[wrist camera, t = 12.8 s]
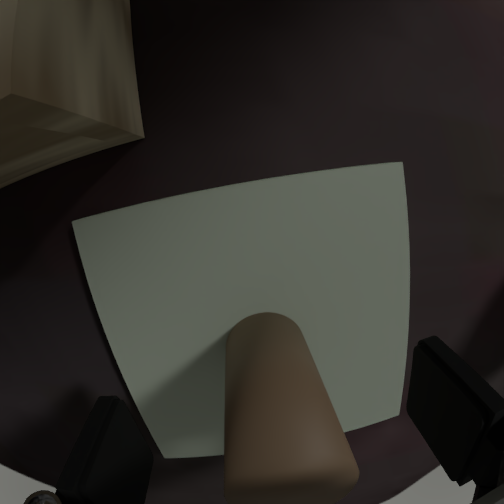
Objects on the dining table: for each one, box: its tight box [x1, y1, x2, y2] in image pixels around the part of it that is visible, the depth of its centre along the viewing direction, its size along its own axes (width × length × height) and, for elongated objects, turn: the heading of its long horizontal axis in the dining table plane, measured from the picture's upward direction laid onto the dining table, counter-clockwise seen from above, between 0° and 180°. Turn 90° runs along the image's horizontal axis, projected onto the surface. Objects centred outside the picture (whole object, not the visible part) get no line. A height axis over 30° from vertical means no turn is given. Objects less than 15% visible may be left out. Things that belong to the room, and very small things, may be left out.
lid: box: [72, 162, 410, 504], centre depth 10 cm, size 13×13×8 cm
